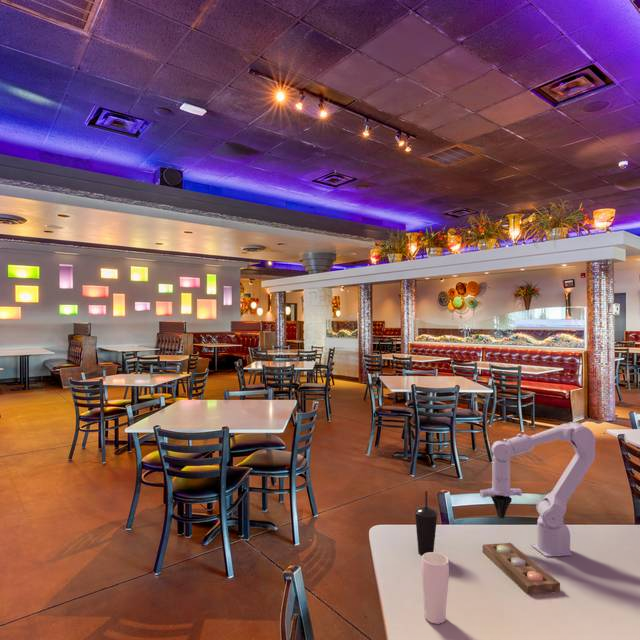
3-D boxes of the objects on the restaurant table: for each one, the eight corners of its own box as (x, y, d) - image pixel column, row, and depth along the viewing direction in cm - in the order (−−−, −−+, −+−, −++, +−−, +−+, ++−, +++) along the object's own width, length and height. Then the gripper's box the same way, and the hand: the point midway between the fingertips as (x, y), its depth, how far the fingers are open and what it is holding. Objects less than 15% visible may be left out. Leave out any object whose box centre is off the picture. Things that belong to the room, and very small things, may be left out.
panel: (510, 550, 149) (510, 542, 149) (560, 592, 125) (560, 582, 125) (482, 552, 147) (482, 544, 147) (527, 594, 123) (527, 585, 124)
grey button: (520, 565, 138) (520, 556, 139) (528, 572, 134) (528, 563, 135) (508, 566, 138) (508, 557, 138) (516, 573, 134) (516, 564, 134)
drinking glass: (417, 610, 116) (418, 552, 116) (442, 609, 116) (443, 551, 117) (425, 627, 109) (426, 565, 109) (452, 626, 110) (453, 564, 110)
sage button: (505, 552, 146) (505, 544, 146) (512, 558, 142) (512, 550, 142) (494, 553, 146) (494, 545, 146) (501, 559, 142) (501, 551, 142)
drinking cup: (422, 545, 151) (422, 485, 152) (442, 553, 146) (442, 491, 147) (409, 552, 146) (409, 491, 147) (429, 561, 141) (430, 497, 141)
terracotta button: (536, 579, 131) (536, 570, 131) (545, 587, 127) (545, 578, 127) (524, 580, 130) (524, 571, 130) (532, 588, 126) (533, 579, 126)
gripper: (487, 481, 148) (487, 523, 148) (527, 480, 150) (527, 520, 150) (477, 475, 155) (476, 514, 155) (515, 473, 157) (514, 512, 157)
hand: (500, 517), depth 153 cm, fingers closed
